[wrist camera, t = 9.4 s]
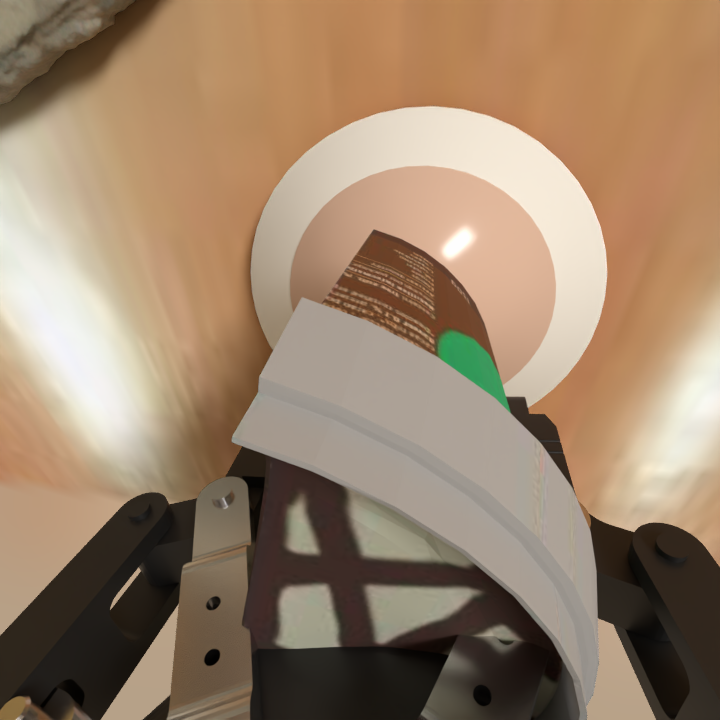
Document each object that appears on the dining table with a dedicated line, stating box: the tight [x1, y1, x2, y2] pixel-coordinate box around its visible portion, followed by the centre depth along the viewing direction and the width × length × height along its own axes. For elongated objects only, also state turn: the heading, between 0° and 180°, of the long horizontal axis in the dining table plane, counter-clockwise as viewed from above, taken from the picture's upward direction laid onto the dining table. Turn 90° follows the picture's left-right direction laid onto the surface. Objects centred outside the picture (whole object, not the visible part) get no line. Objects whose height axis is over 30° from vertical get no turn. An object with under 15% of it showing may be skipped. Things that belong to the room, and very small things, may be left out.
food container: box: [232, 229, 599, 720], centre depth 11 cm, size 12×6×10 cm, turn 168°
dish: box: [251, 106, 607, 407], centre depth 21 cm, size 16×16×2 cm
